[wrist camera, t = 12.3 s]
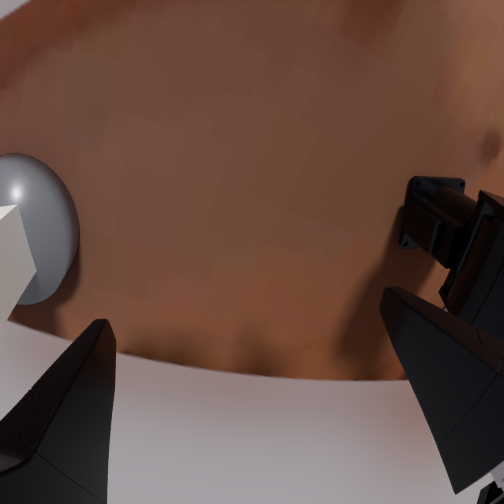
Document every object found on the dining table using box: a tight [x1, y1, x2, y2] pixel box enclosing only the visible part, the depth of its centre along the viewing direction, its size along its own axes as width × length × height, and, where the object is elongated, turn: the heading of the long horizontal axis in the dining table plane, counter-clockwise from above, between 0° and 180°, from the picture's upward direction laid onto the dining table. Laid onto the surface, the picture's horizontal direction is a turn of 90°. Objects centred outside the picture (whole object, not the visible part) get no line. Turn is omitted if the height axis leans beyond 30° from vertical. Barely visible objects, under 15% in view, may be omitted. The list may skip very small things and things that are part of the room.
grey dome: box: [0, 153, 80, 305], centre depth 18 cm, size 11×11×3 cm
